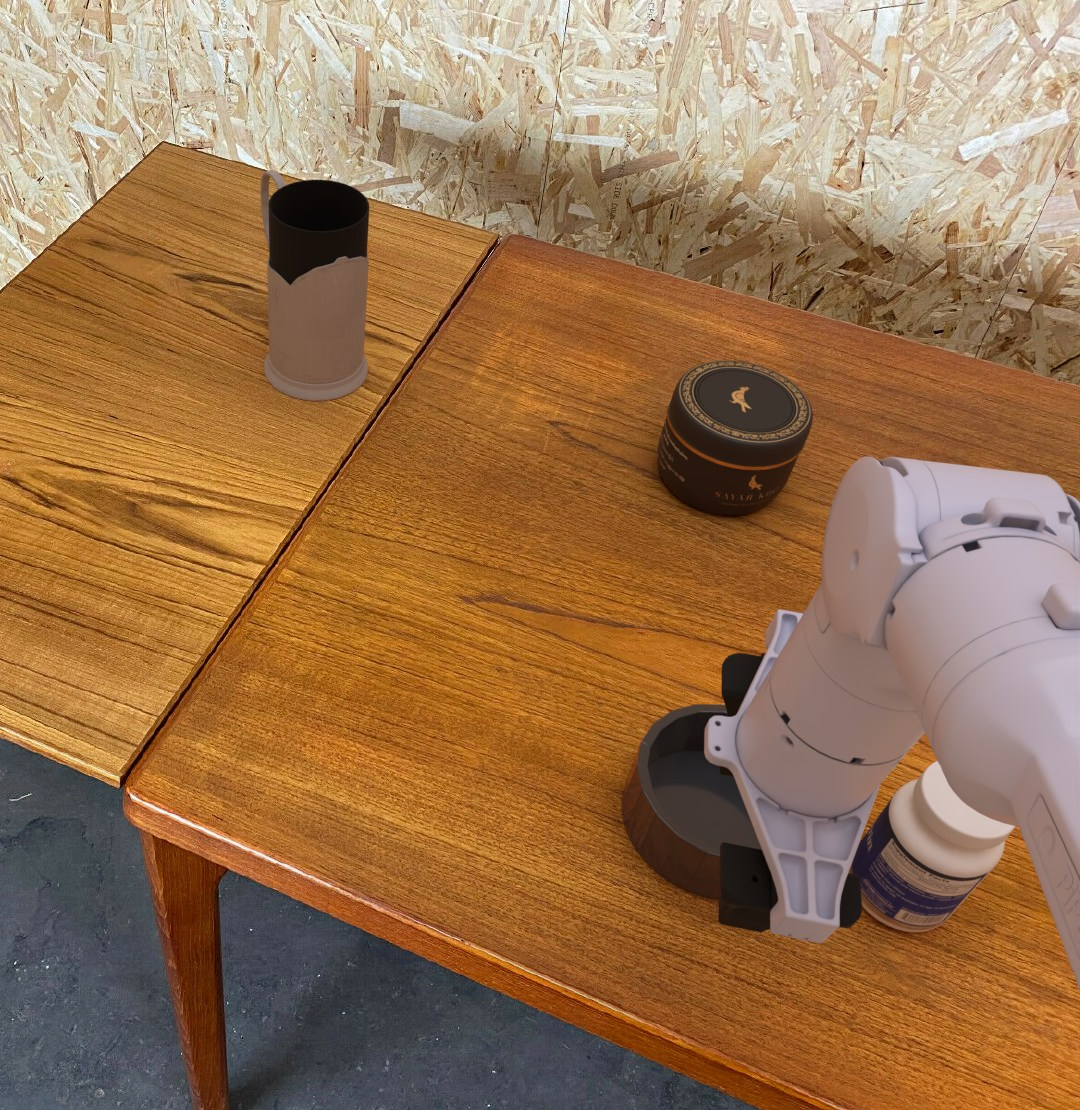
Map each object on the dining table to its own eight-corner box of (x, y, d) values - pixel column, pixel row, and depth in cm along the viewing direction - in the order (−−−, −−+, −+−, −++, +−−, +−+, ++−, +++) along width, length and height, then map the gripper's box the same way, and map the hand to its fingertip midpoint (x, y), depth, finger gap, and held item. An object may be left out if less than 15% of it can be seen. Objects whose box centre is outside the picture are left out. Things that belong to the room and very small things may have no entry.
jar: (680, 530, 84) (708, 452, 78) (630, 441, 90) (653, 363, 85) (805, 514, 85) (841, 437, 80) (747, 427, 92) (777, 350, 86)
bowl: (832, 871, 65) (861, 832, 62) (675, 922, 63) (696, 884, 60) (737, 729, 72) (758, 686, 68) (591, 769, 69) (606, 727, 66)
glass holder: (291, 412, 91) (291, 248, 80) (220, 317, 100) (211, 157, 89) (387, 383, 94) (399, 220, 83) (310, 293, 103) (312, 134, 92)
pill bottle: (879, 824, 67) (950, 728, 60) (968, 894, 65) (1054, 802, 57) (823, 881, 65) (890, 788, 58) (914, 957, 62) (996, 869, 55)
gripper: (738, 536, 49) (662, 698, 59) (739, 852, 40) (649, 975, 51) (910, 565, 48) (801, 724, 59) (948, 895, 39) (812, 1010, 50)
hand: (740, 843), depth 55 cm, fingers open, 7 cm apart
